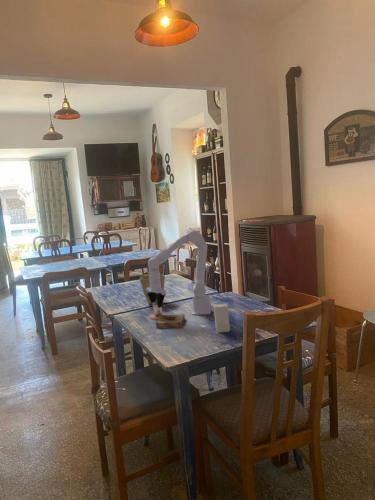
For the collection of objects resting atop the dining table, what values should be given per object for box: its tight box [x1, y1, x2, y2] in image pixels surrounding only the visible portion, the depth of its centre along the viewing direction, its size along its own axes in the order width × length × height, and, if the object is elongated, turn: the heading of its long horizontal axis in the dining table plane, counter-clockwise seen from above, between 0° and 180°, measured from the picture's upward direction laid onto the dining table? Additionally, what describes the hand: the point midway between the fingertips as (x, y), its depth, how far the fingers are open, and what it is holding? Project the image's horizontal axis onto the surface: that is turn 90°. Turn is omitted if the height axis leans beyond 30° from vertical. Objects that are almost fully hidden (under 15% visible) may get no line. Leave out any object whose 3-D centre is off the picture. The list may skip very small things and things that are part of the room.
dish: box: [149, 312, 167, 321], centre depth 199 cm, size 9×9×1 cm
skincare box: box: [213, 303, 231, 334], centre depth 171 cm, size 6×4×12 cm
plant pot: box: [139, 273, 166, 305], centre depth 226 cm, size 15×15×16 cm
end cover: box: [151, 301, 164, 316], centre depth 198 cm, size 5×5×7 cm
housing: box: [155, 313, 186, 329], centre depth 187 cm, size 12×12×2 cm
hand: (157, 306), depth 199 cm, fingers closed on end cover, 5 cm apart
